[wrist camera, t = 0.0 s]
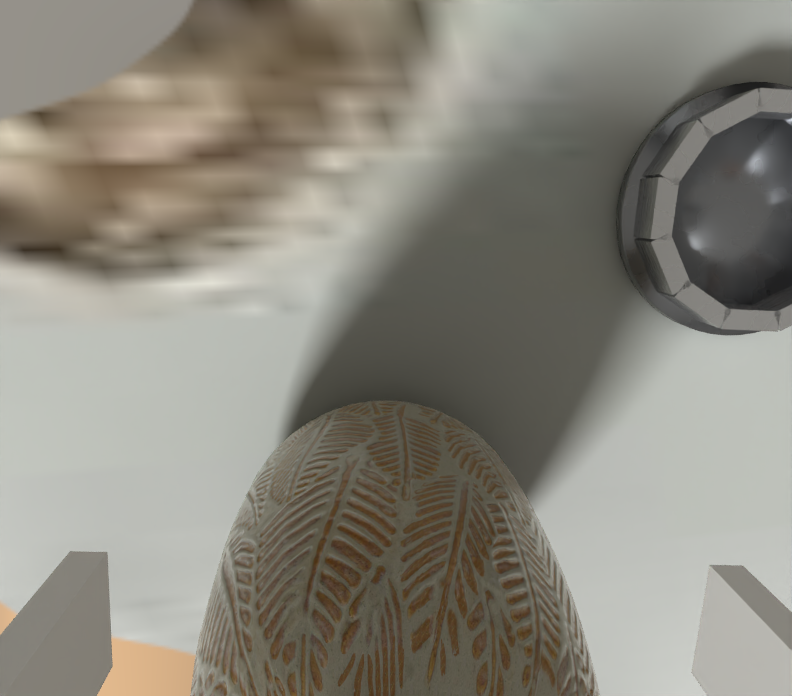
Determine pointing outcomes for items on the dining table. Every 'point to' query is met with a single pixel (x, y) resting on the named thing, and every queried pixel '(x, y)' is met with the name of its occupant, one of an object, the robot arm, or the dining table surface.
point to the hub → (714, 212)
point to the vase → (389, 571)
